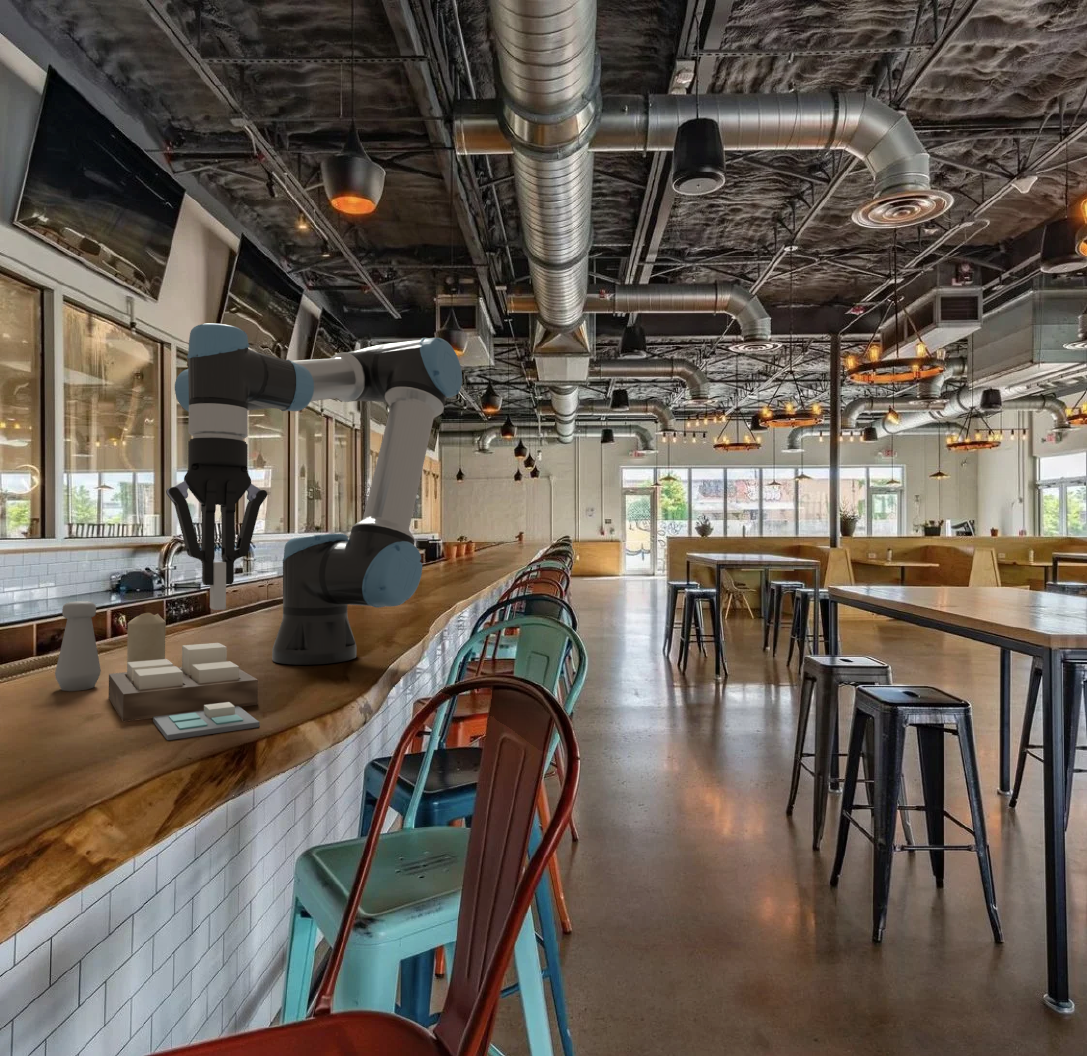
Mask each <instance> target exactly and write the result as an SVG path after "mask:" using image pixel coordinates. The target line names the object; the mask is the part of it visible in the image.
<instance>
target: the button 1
mask: <svg viewBox="0 0 1087 1056" xmlns="http://www.w3.org/2000/svg"><path fill="white" fill-rule="evenodd" d="M172 666H174V663H172V662H171V661H170V660H169V659H167V658H165V659H160V660H148V661H137V662H127V661H126V672H127V678H128V679H129V681H134V670H138V669H149V668H160V667H172Z"/></svg>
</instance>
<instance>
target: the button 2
mask: <svg viewBox="0 0 1087 1056" xmlns="http://www.w3.org/2000/svg"><path fill="white" fill-rule="evenodd" d="M180 685H183V671H181V670H180V669H179V668H178V666H177V665H176V666H175V665H173V666H172V667H160V668H149V669H138V670H134V687H135V688H136V689H137V690H143V689H152V688H162V687H171V686H180Z"/></svg>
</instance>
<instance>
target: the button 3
mask: <svg viewBox="0 0 1087 1056" xmlns="http://www.w3.org/2000/svg"><path fill="white" fill-rule="evenodd" d="M239 669H240V666H239V665H237V664H236V663H234V662H232V661H230V660H227V662H216V663H205V664H194V665H192V680H193V681H194V682H196V683H197V684H199V683H209V682H218V681H228V680H237V679H239Z"/></svg>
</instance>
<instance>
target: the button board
mask: <svg viewBox="0 0 1087 1056" xmlns="http://www.w3.org/2000/svg"><path fill="white" fill-rule="evenodd" d="M177 667H178V666H177ZM178 668H179V669H180V670H181V671H182V666H180V667H178ZM258 688H259V679H257V678H256V677H254V676H252V675H251V674H249V673H247V672H245V671H244V670H242V669H241V668H239V679H237V680H228V681H218V682H209V683H199V684H197V683H196V682H194V681H193V680H192V675H187V674H185V673H184V672H183V685H180V686H171V687H162V688H152V689H143V690H137V689H136V688H135V687H134V681H129V679H128V678H127V671H124V672H115V673H114V672H113V673H108V700H109V701H110V703H111V705H112V706H113V708H114V709H115V711H116V712H117V714H118V716H119V717H120V719H121V720H122V721H121V722H123V723H124V722H132V721H139V720H147V719H153V717H155V716H163V715H171V714H178V713H186V712H194V711H202V710H204V705H208V704H217V703H225V702H230V703H231V704H232V705H234V706H239V707H240V708H242V707H249V706H257V705H259V703H258V700H259V698H258V695H259V694H258V693H259V689H258Z"/></svg>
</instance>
